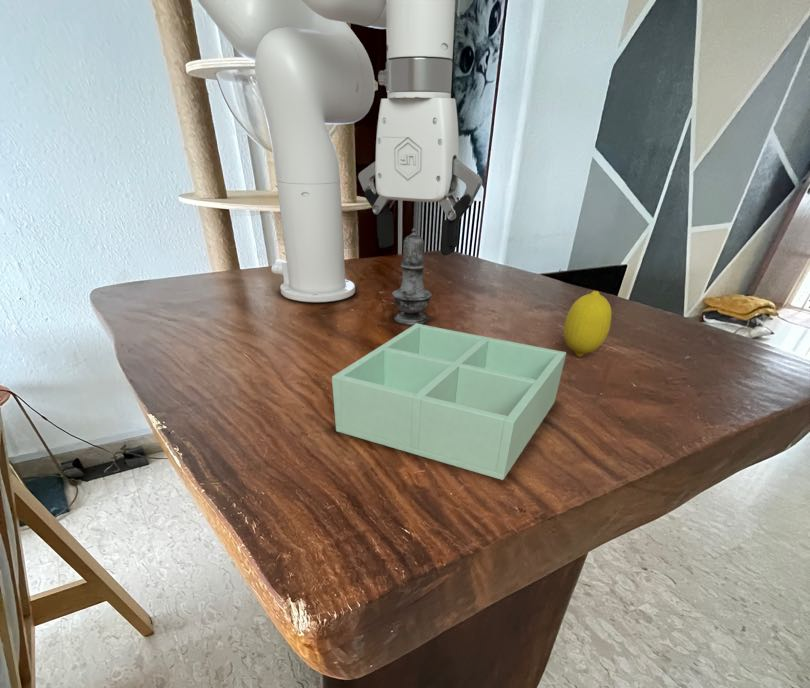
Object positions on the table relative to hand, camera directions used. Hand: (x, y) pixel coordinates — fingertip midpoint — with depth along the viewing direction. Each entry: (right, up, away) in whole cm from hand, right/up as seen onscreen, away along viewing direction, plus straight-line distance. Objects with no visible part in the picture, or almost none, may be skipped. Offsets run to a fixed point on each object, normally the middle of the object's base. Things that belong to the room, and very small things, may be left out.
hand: (416, 249), depth 68 cm
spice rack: (+3, -28, -17) cm, 33 cm away
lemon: (+22, -16, -4) cm, 27 cm away
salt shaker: (-1, -7, +7) cm, 10 cm away
